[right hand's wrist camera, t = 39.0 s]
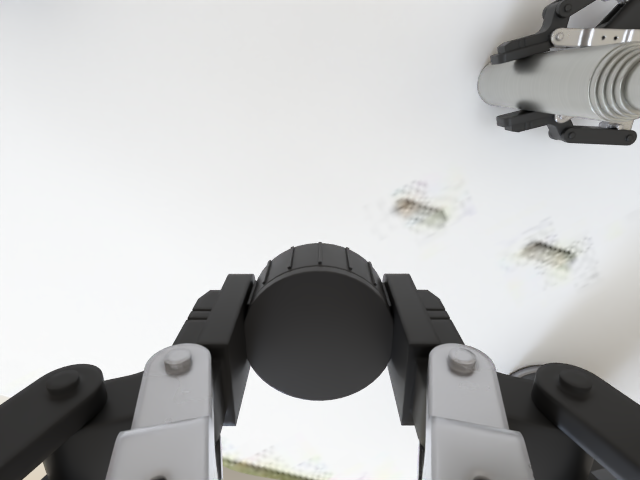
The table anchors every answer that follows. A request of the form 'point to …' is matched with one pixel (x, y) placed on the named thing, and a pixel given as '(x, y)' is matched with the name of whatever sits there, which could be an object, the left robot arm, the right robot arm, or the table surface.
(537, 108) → the bottle
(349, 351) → the cap
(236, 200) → the table surface
